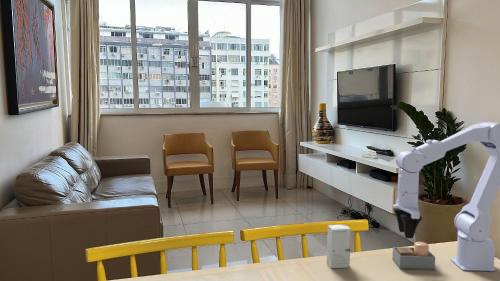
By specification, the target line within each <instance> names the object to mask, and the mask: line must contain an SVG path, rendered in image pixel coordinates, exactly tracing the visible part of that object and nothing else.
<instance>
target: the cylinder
mask: <svg viewBox="0 0 500 281" xmlns="http://www.w3.org/2000/svg"><path fill="white" fill-rule="evenodd" d="M429 246H430V245H429V243H427V242H424V241H415V242H413V248H414V256H428V250H429V248H430V247H429ZM429 251H430V250H429Z"/></svg>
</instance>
